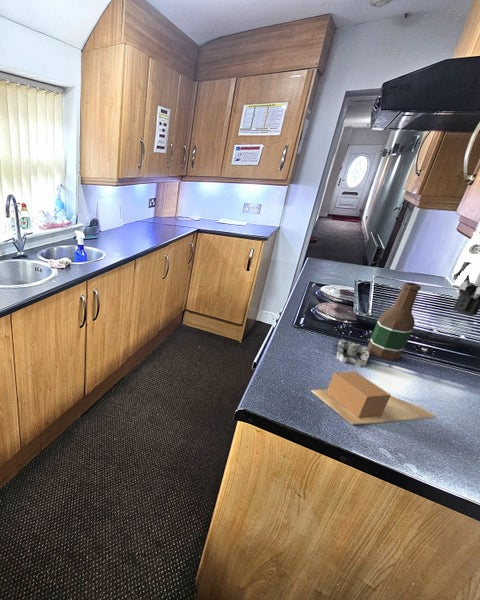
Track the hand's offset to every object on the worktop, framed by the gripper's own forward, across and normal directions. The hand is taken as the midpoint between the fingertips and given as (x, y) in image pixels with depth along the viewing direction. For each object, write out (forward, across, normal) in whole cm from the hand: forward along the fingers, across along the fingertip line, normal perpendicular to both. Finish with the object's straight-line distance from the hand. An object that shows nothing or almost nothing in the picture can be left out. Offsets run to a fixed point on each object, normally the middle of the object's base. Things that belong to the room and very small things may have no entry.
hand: (464, 312), depth 72 cm
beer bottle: (+24, +10, +19) cm, 33 cm away
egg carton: (+24, -1, +20) cm, 31 cm away
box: (+18, -19, +1) cm, 26 cm away
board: (+24, -14, +1) cm, 28 cm away
